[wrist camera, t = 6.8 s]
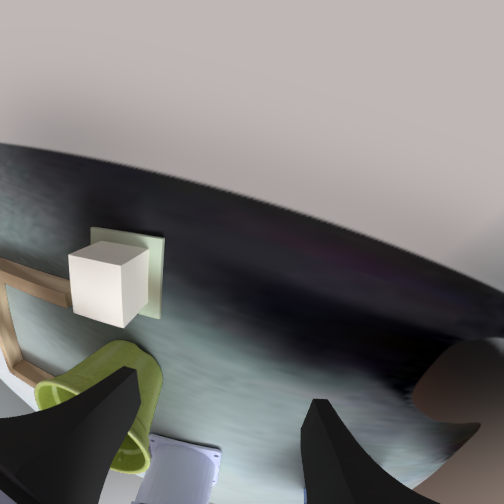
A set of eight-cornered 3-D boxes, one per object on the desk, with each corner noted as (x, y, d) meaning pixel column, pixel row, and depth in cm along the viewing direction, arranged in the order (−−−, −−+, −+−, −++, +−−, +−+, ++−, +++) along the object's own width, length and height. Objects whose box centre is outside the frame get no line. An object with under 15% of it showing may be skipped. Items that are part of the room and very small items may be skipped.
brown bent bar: (165, 425, 23) (159, 442, 20) (20, 362, 23) (9, 372, 21) (164, 237, 18) (150, 246, 16) (-7, 210, 18) (-23, 214, 16)
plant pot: (113, 402, 23) (77, 460, 14) (73, 324, 20) (15, 375, 12) (195, 405, 22) (171, 482, 13) (158, 316, 20) (103, 389, 11)
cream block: (149, 248, 18) (120, 265, 14) (147, 302, 19) (123, 328, 15) (101, 240, 18) (68, 254, 14) (102, 291, 19) (73, 312, 15)
